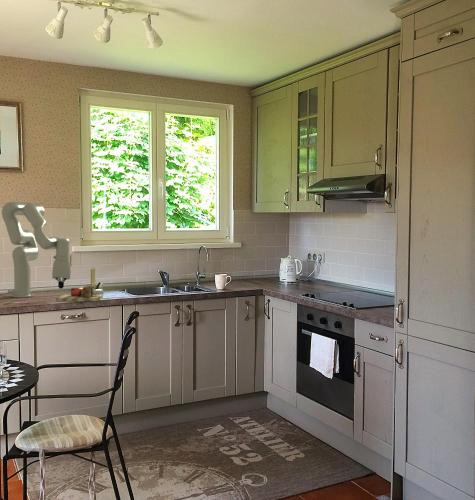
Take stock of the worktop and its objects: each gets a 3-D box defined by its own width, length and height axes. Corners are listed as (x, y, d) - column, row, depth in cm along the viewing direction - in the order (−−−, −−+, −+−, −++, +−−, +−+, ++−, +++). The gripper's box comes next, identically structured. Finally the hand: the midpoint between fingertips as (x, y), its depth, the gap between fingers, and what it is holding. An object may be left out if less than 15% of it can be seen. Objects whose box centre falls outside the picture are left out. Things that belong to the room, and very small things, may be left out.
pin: (70, 296, 343) (70, 288, 342) (72, 295, 348) (72, 287, 347) (102, 296, 344) (102, 288, 343) (103, 295, 349) (103, 287, 348)
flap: (90, 287, 340) (90, 269, 340) (93, 285, 350) (93, 267, 350) (92, 287, 341) (92, 269, 340) (95, 285, 351) (95, 267, 350)
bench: (56, 301, 338) (56, 287, 337) (62, 297, 352) (62, 285, 351) (98, 301, 339) (98, 287, 339) (102, 297, 353) (102, 285, 353)
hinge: (92, 293, 373) (97, 279, 373) (99, 295, 374) (104, 281, 373) (88, 297, 356) (94, 282, 356) (95, 299, 357) (101, 284, 357)
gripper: (48, 258, 339) (46, 288, 341) (73, 259, 340) (71, 289, 342) (51, 257, 347) (50, 286, 348) (75, 258, 348) (74, 288, 349)
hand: (60, 288), depth 345 cm, fingers closed
